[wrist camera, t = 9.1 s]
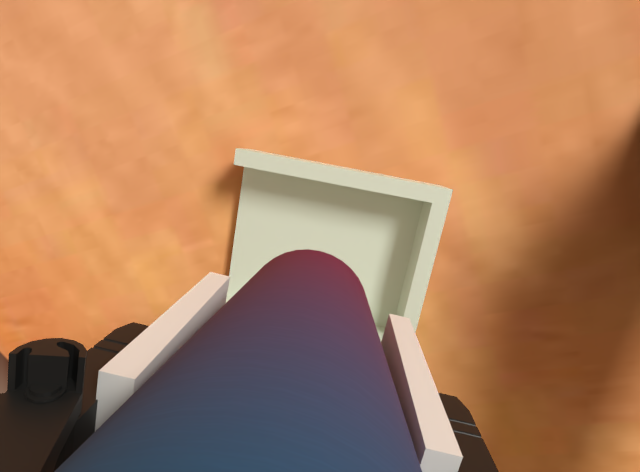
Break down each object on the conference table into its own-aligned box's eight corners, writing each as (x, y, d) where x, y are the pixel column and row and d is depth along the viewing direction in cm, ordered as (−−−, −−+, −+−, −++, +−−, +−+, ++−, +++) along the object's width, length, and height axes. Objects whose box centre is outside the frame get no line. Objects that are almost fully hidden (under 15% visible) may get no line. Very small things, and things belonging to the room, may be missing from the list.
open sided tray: (249, 148, 32) (235, 148, 28) (439, 185, 31) (453, 189, 27) (227, 303, 35) (212, 322, 31) (400, 338, 34) (407, 362, 31)
